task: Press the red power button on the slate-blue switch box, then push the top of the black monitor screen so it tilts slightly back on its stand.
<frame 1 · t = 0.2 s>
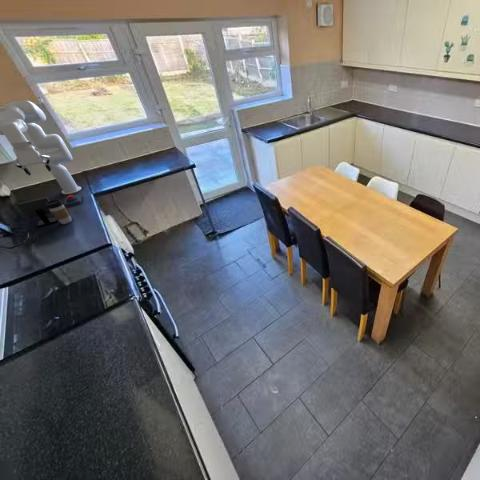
hand: (40, 172, 167), 31 cm above the worktop, tool pointing down, fingers open, 9 cm apart
monitor stand: (48, 221, 180), on the worktop
screen: (37, 207, 173), point 11 cm above the worktop, hinge at 0.0°
coffee cup: (66, 221, 180), on the worktop
switch box: (74, 202, 201), on the worktop
power button: (70, 197, 198), point 4 cm above the worktop, slide at 0.1 cm
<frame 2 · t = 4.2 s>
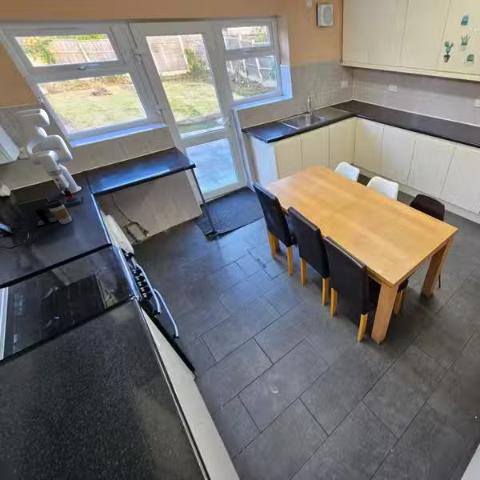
hand: (69, 196, 197), 5 cm above the worktop, tool pointing down, fingers closed
power button: (70, 197, 198), point 4 cm above the worktop, slide at 0.0 cm, touching gripper
everything else where it was.
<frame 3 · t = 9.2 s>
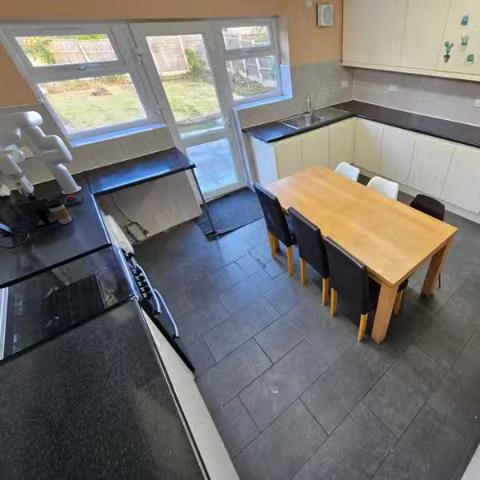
hand: (35, 201, 173), 14 cm above the worktop, tool pointing down, fingers closed
screen: (37, 207, 173), point 11 cm above the worktop, hinge at 2.6°, touching gripper
power button: (70, 197, 198), point 4 cm above the worktop, slide at 0.1 cm
everything else where it was.
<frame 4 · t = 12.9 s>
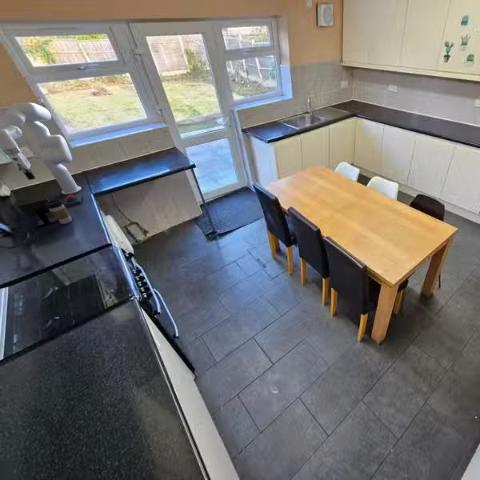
hand: (32, 178, 175), 25 cm above the worktop, tool pointing down, fingers closed
screen: (37, 207, 173), point 11 cm above the worktop, hinge at 14.9°
everything else where it was.
at the end: power button pushed in 1.1 cm at the most during the clip, back to where it started at the end; power button slide at 0.1 cm; screen at +15° (first picture: +0°) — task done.
